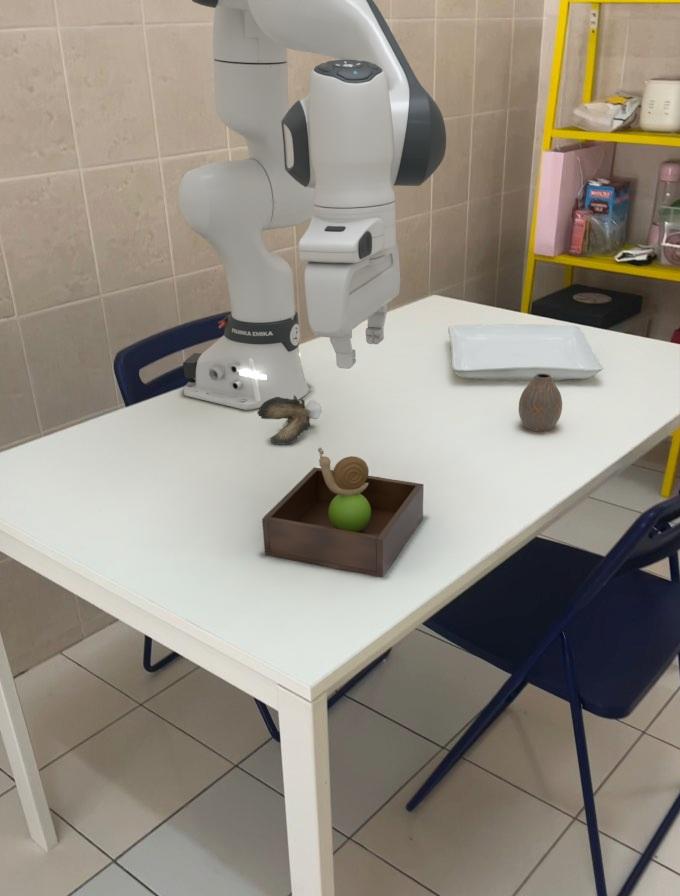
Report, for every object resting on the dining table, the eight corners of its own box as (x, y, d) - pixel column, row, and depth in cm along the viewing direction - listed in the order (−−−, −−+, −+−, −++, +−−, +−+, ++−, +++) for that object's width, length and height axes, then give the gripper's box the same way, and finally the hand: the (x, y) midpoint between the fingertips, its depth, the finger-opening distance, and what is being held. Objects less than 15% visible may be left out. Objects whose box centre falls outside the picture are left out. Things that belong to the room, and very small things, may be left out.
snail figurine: (317, 525, 114) (312, 440, 108) (364, 518, 115) (362, 434, 109) (327, 545, 109) (324, 458, 103) (376, 537, 111) (376, 450, 105)
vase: (559, 436, 140) (565, 384, 135) (515, 433, 141) (519, 381, 136) (560, 420, 145) (565, 369, 141) (518, 417, 147) (522, 367, 142)
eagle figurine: (282, 412, 147) (248, 420, 139) (303, 381, 143) (269, 387, 135) (312, 444, 145) (278, 454, 138) (334, 414, 141) (300, 422, 134)
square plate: (446, 341, 184) (447, 323, 182) (578, 342, 183) (580, 323, 181) (451, 386, 160) (452, 365, 158) (602, 387, 159) (605, 366, 157)
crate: (264, 554, 109) (261, 518, 106) (315, 500, 121) (314, 467, 119) (382, 577, 104) (382, 540, 101) (423, 518, 116) (423, 483, 114)
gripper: (362, 213, 105) (366, 328, 112) (290, 247, 88) (301, 379, 95) (412, 214, 103) (414, 331, 110) (349, 249, 86) (355, 384, 93)
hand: (361, 354), depth 102 cm, fingers open, 8 cm apart
